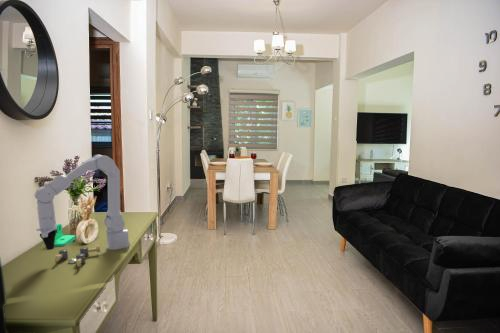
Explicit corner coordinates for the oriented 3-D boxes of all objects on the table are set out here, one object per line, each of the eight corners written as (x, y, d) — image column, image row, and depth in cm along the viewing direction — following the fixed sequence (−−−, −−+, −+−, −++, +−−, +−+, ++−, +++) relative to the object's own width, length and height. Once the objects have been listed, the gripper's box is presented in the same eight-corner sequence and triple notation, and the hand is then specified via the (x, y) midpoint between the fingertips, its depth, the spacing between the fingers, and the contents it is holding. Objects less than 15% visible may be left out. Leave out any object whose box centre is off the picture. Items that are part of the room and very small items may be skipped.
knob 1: (61, 257, 144) (60, 249, 144) (69, 257, 144) (68, 248, 144) (52, 265, 136) (51, 256, 136) (60, 264, 137) (59, 256, 136)
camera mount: (64, 248, 158) (62, 227, 157) (47, 249, 158) (45, 228, 156) (76, 240, 170) (74, 220, 169) (61, 240, 170) (59, 220, 168)
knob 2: (77, 262, 138) (76, 254, 138) (85, 261, 139) (85, 253, 139) (74, 270, 131) (73, 261, 130) (83, 268, 132) (82, 260, 131)
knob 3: (80, 258, 143) (79, 250, 142) (81, 255, 146) (80, 247, 145) (100, 255, 145) (99, 247, 145) (100, 252, 148) (99, 244, 148)
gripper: (39, 213, 141) (43, 244, 143) (30, 222, 128) (34, 257, 130) (58, 211, 144) (62, 242, 146) (51, 220, 130) (55, 254, 132)
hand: (50, 249), depth 138 cm, fingers closed
